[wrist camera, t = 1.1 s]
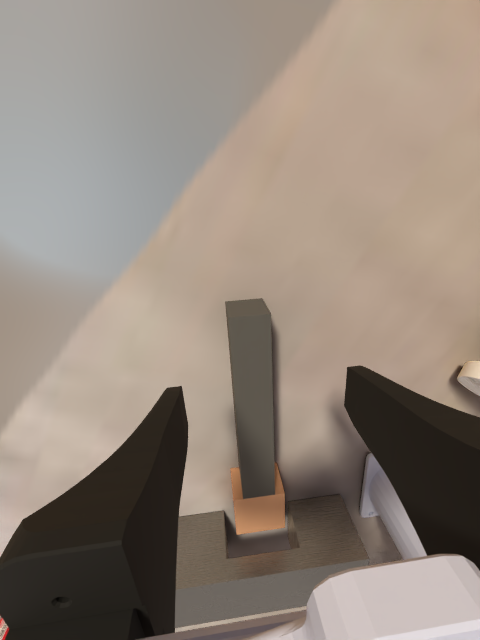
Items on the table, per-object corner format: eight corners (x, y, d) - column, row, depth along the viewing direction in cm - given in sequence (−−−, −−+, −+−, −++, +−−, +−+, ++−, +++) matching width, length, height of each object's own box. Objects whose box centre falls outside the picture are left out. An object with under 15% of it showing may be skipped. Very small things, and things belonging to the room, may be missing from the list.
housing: (340, 494, 28) (369, 558, 23) (336, 529, 30) (363, 596, 25) (168, 518, 27) (159, 592, 22) (176, 553, 29) (169, 628, 24)
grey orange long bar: (273, 297, 20) (283, 312, 17) (277, 494, 27) (284, 527, 25) (214, 302, 20) (215, 319, 17) (233, 500, 27) (236, 534, 24)
